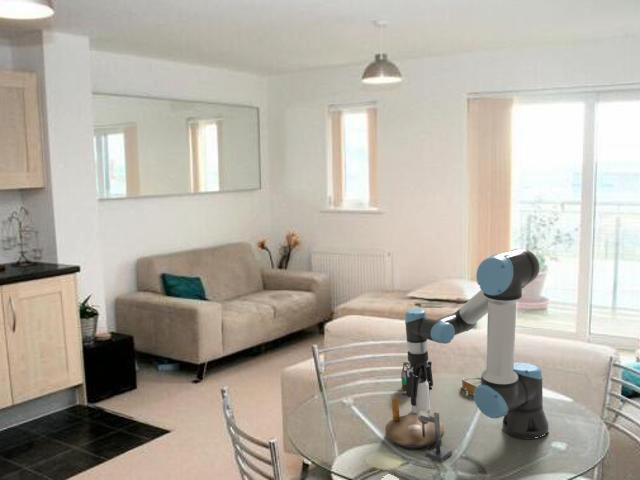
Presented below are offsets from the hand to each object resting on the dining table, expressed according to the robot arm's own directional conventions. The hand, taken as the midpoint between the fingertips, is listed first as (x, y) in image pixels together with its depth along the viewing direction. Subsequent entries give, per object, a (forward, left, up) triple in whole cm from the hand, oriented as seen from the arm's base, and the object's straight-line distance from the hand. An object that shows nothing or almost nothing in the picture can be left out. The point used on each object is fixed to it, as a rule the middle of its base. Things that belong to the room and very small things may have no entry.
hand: (421, 409), depth 244 cm
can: (0, 0, -1) cm, 1 cm away
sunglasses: (-8, -29, -1) cm, 31 cm away
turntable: (-11, +19, +2) cm, 22 cm away
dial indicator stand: (-22, +24, -1) cm, 32 cm away
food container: (+14, -13, -1) cm, 19 cm away
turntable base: (-11, +19, -1) cm, 22 cm away
